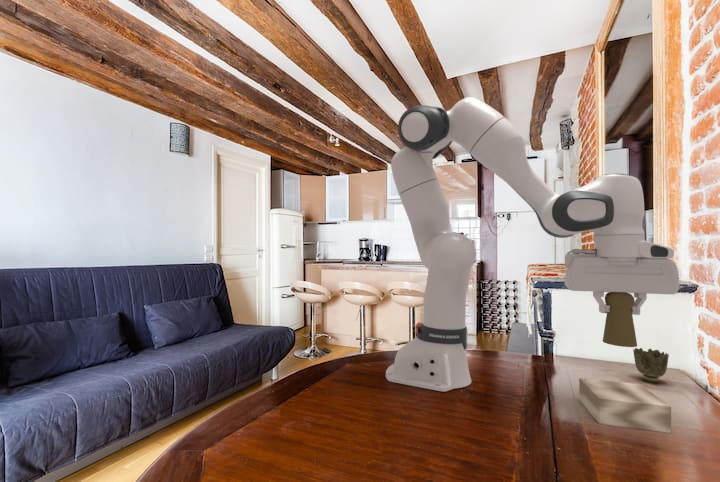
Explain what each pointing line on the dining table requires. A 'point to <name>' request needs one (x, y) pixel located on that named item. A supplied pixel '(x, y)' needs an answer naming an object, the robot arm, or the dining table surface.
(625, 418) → the plinth
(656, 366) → the cup
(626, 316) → the cork
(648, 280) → the robot arm
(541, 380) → the dining table surface
